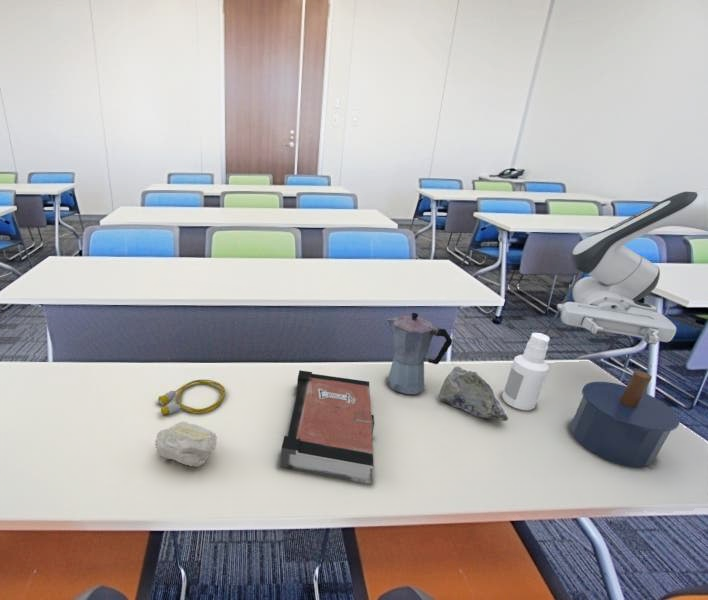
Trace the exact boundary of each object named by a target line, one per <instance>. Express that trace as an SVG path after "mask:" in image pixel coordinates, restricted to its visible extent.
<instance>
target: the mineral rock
mask: <svg viewBox="0 0 708 600" xmlns="http://www.w3.org/2000/svg"><path fill="white" fill-rule="evenodd" d="M438 399H439V400H440V401H441V402H445V403H448V404H449V405H452V407H454V408H458V409H461V410H463V412H466V413H470V414H471V415H474V416H475V417H478V418H484V419H493V420H498V421H502V422H507V421H509V417H508V415H507V413H506V412H505V410H504V408H503V407H502V406H501V403H500V401H499V400H498V399H497V398H496V396H495V394H494V390H493V388H492V387H491V385H490V384H489V383H487V381H486V380H485V379H483V378H482V377H481V376H480V375H479V374H478V373H477V371H471V370H469V371H468V370H465V369H463V368H462V367H460V366H459V365H458V366H454V367H453V369H452V370H451V371H450V372H449V374H448V375H447V376H446V378H445V379H444V380H443V384H442V386H441V387H440V389H439V393H438Z"/></svg>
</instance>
